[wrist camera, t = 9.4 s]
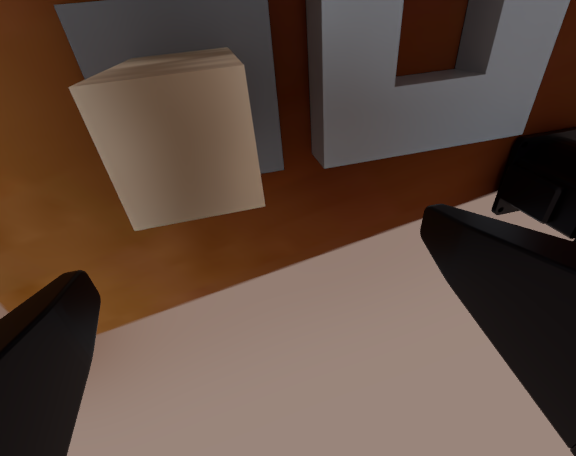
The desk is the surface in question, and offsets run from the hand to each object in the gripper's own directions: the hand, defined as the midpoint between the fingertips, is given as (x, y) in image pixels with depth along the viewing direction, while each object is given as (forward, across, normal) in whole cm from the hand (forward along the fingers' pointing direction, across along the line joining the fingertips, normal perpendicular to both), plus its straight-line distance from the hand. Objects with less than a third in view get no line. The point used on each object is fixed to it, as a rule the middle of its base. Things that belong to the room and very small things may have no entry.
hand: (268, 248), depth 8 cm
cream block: (+11, +2, -2) cm, 11 cm away
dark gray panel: (+12, +2, -2) cm, 12 cm away
